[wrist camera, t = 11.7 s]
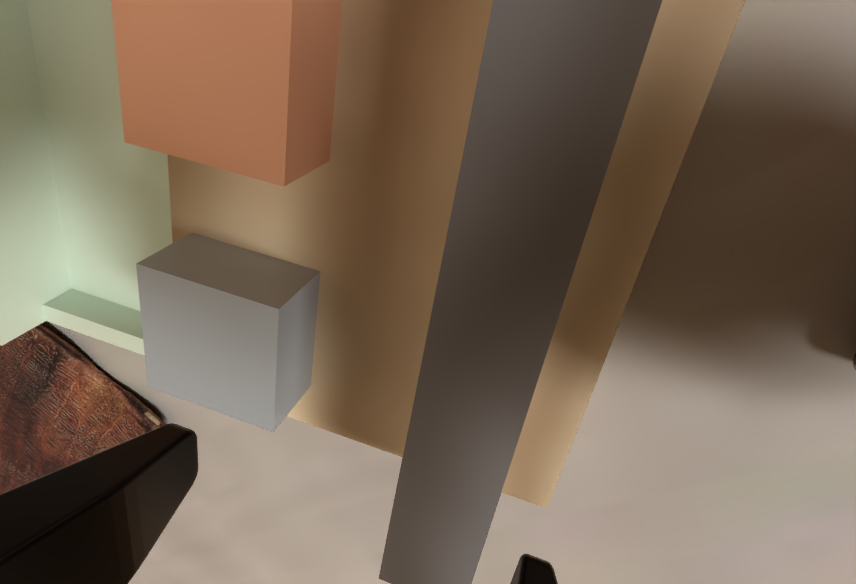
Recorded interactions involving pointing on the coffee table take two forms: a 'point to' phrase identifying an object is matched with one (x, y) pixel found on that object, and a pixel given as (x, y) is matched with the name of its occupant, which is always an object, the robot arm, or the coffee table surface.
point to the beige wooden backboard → (431, 209)
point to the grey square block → (228, 328)
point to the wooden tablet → (59, 408)
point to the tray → (72, 177)
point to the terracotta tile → (230, 81)
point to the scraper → (508, 263)
